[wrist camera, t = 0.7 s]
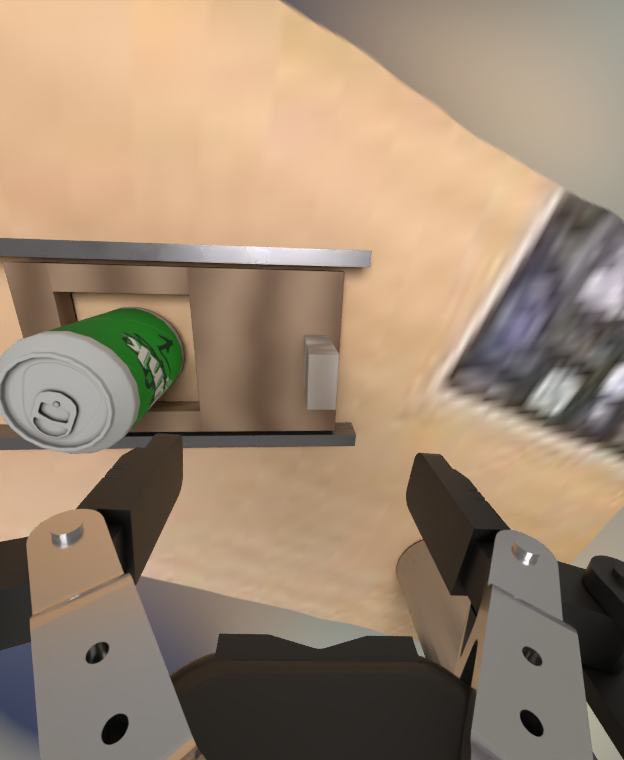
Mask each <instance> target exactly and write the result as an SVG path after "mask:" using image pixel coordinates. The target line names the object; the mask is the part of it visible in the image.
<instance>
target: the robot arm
mask: <svg viewBox="0 0 624 760" xmlns="http://www.w3.org/2000/svg"><path fill="white" fill-rule="evenodd" d="M182 480H183V440H182V436H181V435H177V434H163V433H156V434H155V435H154V437H153V438H152V439H151V440H150V442H149V443H148V444H147V445H146V447H145V448H141V447H136V448H134V449H133V450H131V451H129V452H128V453H126V454H124V455H122V456H121V457H120V459H119V460H118V461H117V462H116V463H115V464H114V465H113V468H112V469H110V470H109V471H108V472H107V474H106V475H105V477H104V478H102V479H101V480H100V482H99V483H98V484H97V485H96V486H95V487H94V489H93V490H92V491H91V492H90V493H89V494H88V495H87V497H86V498H85V499H84V500H83V501H82V502H81V504H80V505H79V506H78V507H77V508H76V509H75V510H69V511H66V512H62V513H60V514H57V515H55V516H52V517H50V518H49V519H47V520H45V521H44V522H42V523H41V524H39V525H38V526H37V527H36V528H35V529H34V530H33V531H32V532H31V533H30V535H29V537H24V538H19V539H13V540H8V541H2V542H0V650H3V649H7V648H10V647H14V646H17V645H21V644H25V643H28V642H31V645H32V658H33V671H34V684H35V696H36V707H37V708H36V709H37V722H38V734H39V746H40V759H41V760H597V758H596V756H595V755H594V753H593V752H592V745H591V737H590V729H589V722H588V712H587V705H586V701H587V703H588V704H589V706H590V707H591V709H592V711H593V712H594V714H595V715H596V717H597V718H598V720H599V722H600V723H601V725H602V726H603V727H604V730H605V731H606V733H607V734H608V736H609V737H610V739H611V741H612V742H613V744H614V745H615V747H616V748H617V750H618V752H619V753H620V755H621V756H622V758H623V759H624V562H622V561H620V560H618V559H615V558H612V557H608V556H595V557H593V558H592V559H591V561H590V563H589V565H588V567H587V569H583V568H579V567H576V566H572V565H569V564H566V563H562V562H559V561H557V560H556V558H555V557H554V555H553V554H552V553H551V551H550V550H549V549H548V548H547V547H545V546H544V545H543V544H542V543H540V542H539V541H537V540H536V539H534V538H532V537H530V536H528V535H526V534H524V533H521V532H518V531H514V530H510V528H509V527H508V526H507V525H506V524H505V522H504V521H503V520H502V519H501V518H500V516H499V515H498V514H497V513H496V512H495V510H494V509H493V508H492V507H491V506H490V504H489V503H488V502H487V501H485V498H484V497H483V496H482V495H481V493H480V492H477V489H476V487H475V486H474V485H473V484H472V483H471V481H470V480H469V479H468V478H466V477H465V476H464V475H462V474H461V473H459V472H458V471H457V470H455V469H452V468H451V466H450V465H449V464H448V463H447V461H446V460H445V459H444V458H443V456H442V455H440V454H430V453H418V454H417V455H416V456H415V459H414V463H413V467H412V471H411V475H410V479H409V482H408V486H407V491H406V501H407V506H408V509H409V511H410V513H411V515H412V517H413V519H414V521H415V523H416V525H417V527H418V529H419V531H420V534H421V536H422V538H423V541H420V542H418V543H416V544H414V545H413V546H412V547H410V548H409V549H408V550H407V551H406V552H405V553H404V554H403V555H402V557H401V558H400V560H399V562H398V565H397V576H398V579H399V582H400V585H401V588H402V591H403V594H404V597H405V600H406V602H407V605H408V609H409V612H410V614H411V617H412V620H413V623H414V626H415V629H416V632H417V635H418V638H419V640H420V643H421V646H422V649H423V652H424V655H425V658H424V657H422V656H418V654H417V651H416V648H415V645H414V642H413V639H412V637H411V636H365V637H361V638H358V639H354V640H351V641H348V642H344V643H341V644H338V645H334V646H331V647H327V648H324V649H316V648H312V647H309V646H305V645H302V644H298V643H295V642H292V641H289V640H285V639H282V638H279V637H275V636H272V635H266V634H263V635H262V634H219V638H218V644H217V649H216V653H212V654H209V655H206V656H203V657H201V658H199V659H196V660H194V661H192V662H190V663H188V664H187V665H185V666H183V667H181V668H180V669H178V670H177V671H175V672H174V673H173V674H171V675H170V676H169V674H168V671H167V669H166V666H165V663H164V660H163V658H162V655H161V653H160V650H159V647H158V645H157V642H156V639H155V637H154V634H153V631H152V629H151V626H150V624H149V621H148V618H147V616H146V613H145V610H144V608H143V605H142V602H141V600H140V597H139V595H138V592H137V590H136V587H135V586H136V584H137V582H138V580H139V578H140V576H141V574H142V572H143V570H144V567H145V565H146V563H147V561H148V559H149V557H150V555H151V553H152V551H153V548H154V546H155V544H156V542H157V540H158V538H159V536H160V534H161V532H162V529H163V527H164V525H165V523H166V521H167V519H168V517H169V515H170V513H171V511H172V508H173V506H174V504H175V502H176V500H177V498H178V496H179V493H180V490H181V486H182Z"/></svg>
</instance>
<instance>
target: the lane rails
mask: <svg viewBox="0 0 624 760" xmlns="http://www.w3.org/2000/svg"><path fill="white" fill-rule="evenodd" d="M371 252H372V251H362V250H332V249H303V248H274V247H245V246H216V245H187V244H157V243H128V242H99V241H70V240H41V239H12V238H0V256H13V257H46V258H79V259H111V260H144V261H177V262H210V263H243V264H276V265H309V266H341V267H370V264H371ZM156 433H163V434H177V435H181V436H182V440H183V448H208V447H297V446H355V438H356V434H355V431H354V429H353V426H352V424H351V423H335V431H207V432H128V433H127V434H126V435H125V437H123V438H122V439H120V440H119V441H118V442H116V443H115V444H114V445H112V446H111V447H109V448H106V449H119V448H136V447H141V448H145V447H146V445H147V444H148V443H149V442H150V440H151V439H152V438H153V437H154V435H155V434H156ZM30 449H45V448H42V447H39V446H37V445H35V444H33V443H31V442H29V441H27V440H25V439H24V438H23V437H21V436H20V435H19V434H18V433H16V432H15V431H14V430H13V429H12V428H11V427H10V426H9V425H0V450H30Z"/></svg>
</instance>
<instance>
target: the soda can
mask: <svg viewBox="0 0 624 760" xmlns="http://www.w3.org/2000/svg"><path fill="white" fill-rule="evenodd" d="M183 362H184V350H183V344H182V342H181V340H180V338H179V335H178V333H177V331H176V330H175V329H174V328H173V327H172V326H171V325H170V324H169V322H168V321H167V320H165V319H164V318H162V317H161V316H159V315H157V314H156V313H154V312H152V311H148V310H145V309H142V308H135V307H123V308H120V309H117V310H113V311H110V312H107V313H104V314H100V315H97V316H94V317H91V318H87V319H84V320H81V321H78V322H74V323H71V324H68V325H65V326H61V327H58V328H55V329H52V330H48V331H45V332H42V333H39V334H36V335H33V336H30V337H27V338H24V339H21V340H19V341H17V342H16V343H15V344H14V345H13V346H11V347H10V348H9V349H8V350H7V351H5V352H4V353H3V355H2V357H1V359H0V413H1V415H2V416H3V418H4V419H5V420H6V422H7V423H8V425H9V426H10V427H11V428H12V429H13V430H14V431H15V432H16V433H18V434H19V435H20V436H21V437H23V438H24V439H25V440H27V441H29V442H31V443H33V444H35V445H37V446H39V447H42V448H45V449H50V450H54V451H59V452H65V453H70V454H80V453H94V452H97V451H100V450H103V449H106V448H109V447H111V446H112V445H114V444H115V443H116V442H118V441H119V440H120V439H122V438H123V437H125V435H126V434H127V433H128V432H129V431H130V430H131V429H132V428H133V427H134V425H135V424H136V423H137V422H138V421H139V420H140V419H141V418H142V417H143V416H144V414H145V413H146V412H147V411H148V410H149V409H150V408H151V407H152V406H153V405H154V403H155V402H156V401H157V400H158V399H159V398H160V397H161V396H162V395H163V393H164V392H165V391H166V390H167V389H168V388H169V387H170V386H171V385H172V384H173V382H174V381H175V380H176V378H177V377H178V375H179V374H180V372H181V371H182V367H183Z"/></svg>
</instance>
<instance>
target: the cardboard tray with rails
mask: <svg viewBox="0 0 624 760" xmlns="http://www.w3.org/2000/svg"><path fill="white" fill-rule="evenodd" d="M3 266H4V270H5V273H6V277H7V280H8V284H9V288H10V291H11V295H12V299H13V302H14V306H15V309H16V313H17V317H18V320H19V324H20V327H21V331H22V335H23V338H27V337H30V336H33V335H36V334H39V333H42V332H45V331H48V330H52V329H55V328H58V327H61V326H65V325H68V324H71V323H74V322H76V318H75V313H74V309H73V304H72V300H71V295H70V292H97V293H140V294H184V295H189V297H190V308H191V318H192V328H193V339H194V349H195V360H196V370H197V381H198V391H199V402H155V403H154V405H153V406H152V407H151V408H150V409H149V410H148V411H147V412H146V413H145V414H144V416H143V417H142V418H141V419H140V420H139V421H138V422H137V423H136V424H135V425H134V427H133V428H132V429H131V430H130V431H129V432H207V431H335V416H336V399H337V383H338V366H339V350H340V333H341V317H342V301H343V284H344V272H342V271H324V270H290V269H256V268H222V267H188V266H154V265H120V264H86V263H52V262H3Z"/></svg>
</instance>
